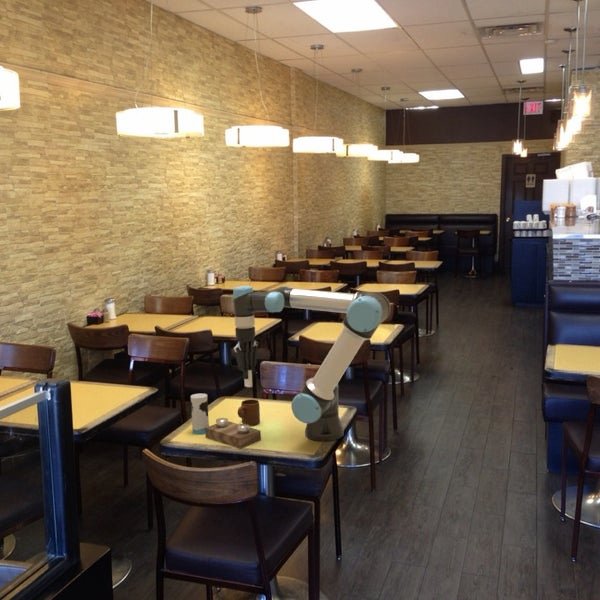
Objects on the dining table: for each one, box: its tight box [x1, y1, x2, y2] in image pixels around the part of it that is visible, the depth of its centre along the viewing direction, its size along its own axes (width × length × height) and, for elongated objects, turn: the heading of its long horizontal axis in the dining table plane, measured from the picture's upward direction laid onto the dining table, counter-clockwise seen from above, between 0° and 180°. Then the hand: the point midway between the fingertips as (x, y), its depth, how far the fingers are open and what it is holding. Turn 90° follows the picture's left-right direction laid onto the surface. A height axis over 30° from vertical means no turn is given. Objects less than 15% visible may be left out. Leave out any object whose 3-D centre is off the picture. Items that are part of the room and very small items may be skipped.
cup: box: [190, 393, 210, 435], centre depth 271 cm, size 7×7×15 cm
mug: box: [237, 399, 261, 427], centre depth 278 cm, size 12×8×9 cm, turn 147°
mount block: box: [205, 420, 262, 450], centre depth 263 cm, size 20×11×4 cm, turn 49°
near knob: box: [237, 423, 250, 434], centre depth 258 cm, size 5×5×6 cm
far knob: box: [215, 417, 229, 428], centre depth 266 cm, size 5×5×6 cm
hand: (248, 386), depth 259 cm, fingers closed
